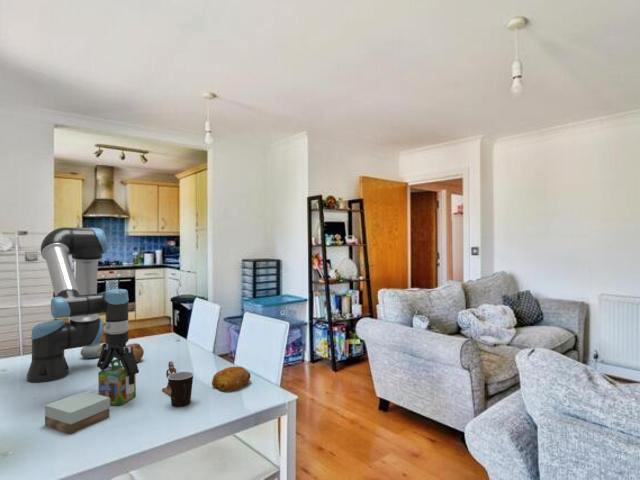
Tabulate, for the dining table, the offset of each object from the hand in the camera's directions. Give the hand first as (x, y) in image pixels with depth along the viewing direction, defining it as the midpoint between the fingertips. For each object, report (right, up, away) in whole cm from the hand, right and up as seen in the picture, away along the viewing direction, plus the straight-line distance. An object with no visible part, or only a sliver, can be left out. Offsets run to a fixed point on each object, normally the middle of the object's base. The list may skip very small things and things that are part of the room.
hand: (117, 389), depth 147 cm
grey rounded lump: (-40, -4, +55) cm, 68 cm away
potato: (+38, -4, +15) cm, 41 cm away
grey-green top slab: (-4, -1, -17) cm, 18 cm away
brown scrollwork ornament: (+17, -4, +7) cm, 19 cm away
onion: (-16, -4, +45) cm, 48 cm away
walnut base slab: (-4, -4, -17) cm, 18 cm away
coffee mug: (+25, -4, -5) cm, 25 cm away
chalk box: (0, -4, 0) cm, 4 cm away
